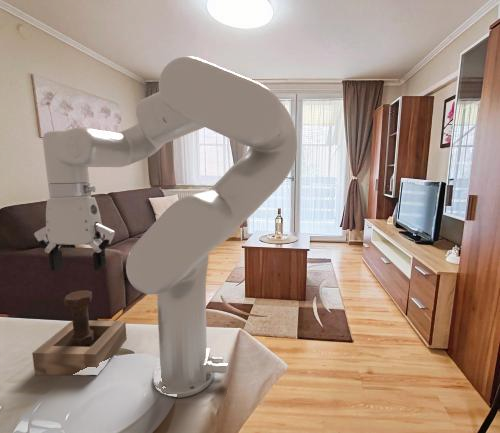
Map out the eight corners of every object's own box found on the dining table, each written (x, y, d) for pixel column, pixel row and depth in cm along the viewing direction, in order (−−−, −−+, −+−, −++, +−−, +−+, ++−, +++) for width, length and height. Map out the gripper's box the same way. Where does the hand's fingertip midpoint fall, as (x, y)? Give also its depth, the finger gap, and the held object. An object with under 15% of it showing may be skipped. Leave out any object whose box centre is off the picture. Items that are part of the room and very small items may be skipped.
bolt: (92, 345, 72) (87, 287, 69) (101, 353, 68) (96, 293, 66) (66, 356, 67) (59, 295, 65) (74, 366, 64) (68, 302, 62)
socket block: (126, 339, 74) (125, 321, 73) (97, 376, 61) (95, 354, 60) (75, 338, 75) (73, 320, 74) (34, 374, 61) (32, 352, 60)
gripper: (118, 190, 65) (124, 263, 68) (43, 191, 66) (52, 263, 68) (100, 192, 58) (108, 274, 60) (16, 193, 58) (27, 274, 61)
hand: (78, 268), depth 64 cm, fingers open, 9 cm apart
